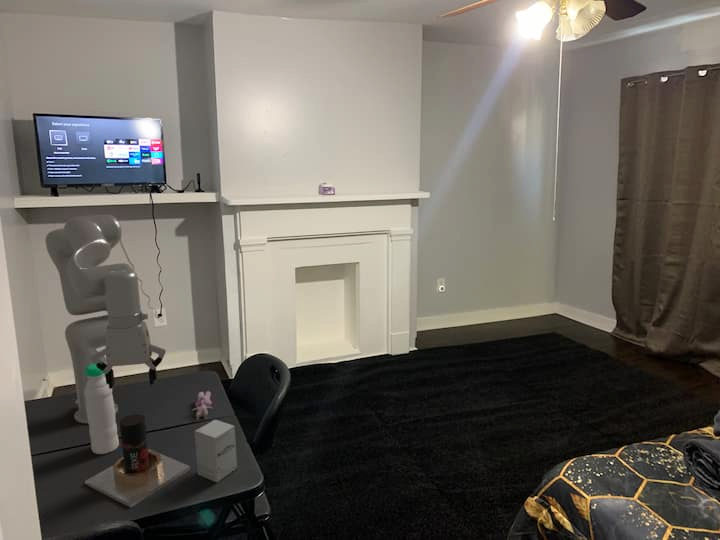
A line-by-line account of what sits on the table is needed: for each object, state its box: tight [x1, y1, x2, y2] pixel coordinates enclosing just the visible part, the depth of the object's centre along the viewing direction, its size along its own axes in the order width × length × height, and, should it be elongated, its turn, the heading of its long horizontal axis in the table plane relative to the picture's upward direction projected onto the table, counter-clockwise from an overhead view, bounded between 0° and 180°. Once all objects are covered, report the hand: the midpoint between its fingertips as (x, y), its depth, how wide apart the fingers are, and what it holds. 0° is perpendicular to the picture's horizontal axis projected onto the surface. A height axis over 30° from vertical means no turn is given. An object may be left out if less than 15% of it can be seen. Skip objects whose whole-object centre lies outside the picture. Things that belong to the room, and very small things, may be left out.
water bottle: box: [84, 364, 120, 455], centre depth 152 cm, size 7×7×25 cm
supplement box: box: [194, 419, 238, 483], centre depth 142 cm, size 7×7×13 cm
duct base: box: [84, 448, 191, 508], centre depth 141 cm, size 18×18×4 cm
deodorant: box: [119, 413, 150, 474], centre depth 139 cm, size 6×6×15 cm
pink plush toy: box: [192, 391, 213, 421], centre depth 176 cm, size 6×6×15 cm
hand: (132, 384), depth 138 cm, fingers open, 9 cm apart
